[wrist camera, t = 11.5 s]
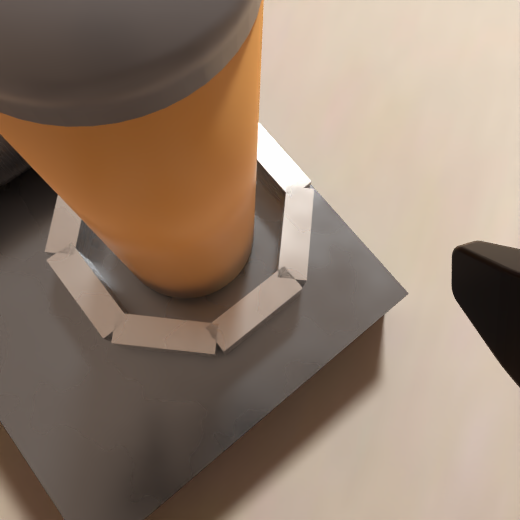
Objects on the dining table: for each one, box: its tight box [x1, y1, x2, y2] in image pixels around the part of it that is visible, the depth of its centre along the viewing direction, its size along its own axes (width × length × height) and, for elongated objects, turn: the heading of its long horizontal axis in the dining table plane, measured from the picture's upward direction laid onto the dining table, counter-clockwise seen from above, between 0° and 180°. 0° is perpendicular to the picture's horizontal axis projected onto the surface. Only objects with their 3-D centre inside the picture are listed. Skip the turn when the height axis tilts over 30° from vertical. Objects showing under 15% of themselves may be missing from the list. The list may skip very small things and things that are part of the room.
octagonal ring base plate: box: [0, 122, 408, 520], centre depth 18 cm, size 16×14×7 cm
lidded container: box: [0, 0, 264, 298], centre depth 12 cm, size 5×5×13 cm
